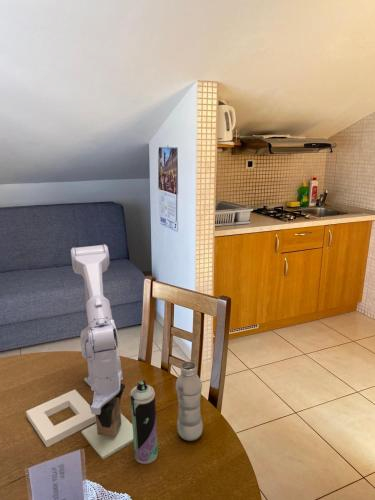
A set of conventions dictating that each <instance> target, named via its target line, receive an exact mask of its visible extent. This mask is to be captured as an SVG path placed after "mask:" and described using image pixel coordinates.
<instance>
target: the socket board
mask: <svg viewBox="0 0 375 500" xmlns="http://www.w3.org/2000/svg"><path fill="white" fill-rule="evenodd" d="M68 408H70V409H71V411H72V412H74V414H75V415H74V416H71V417H69V418H68V419H65V420H64V421H62V422H59V423H57V424H55V425H54V423H53V422H52V421H51V420H50V418H49V417H50V416H52V415H54V414H56V413H59V412H61V411H63V410H64V409H68ZM25 413H26V418H27V420H28V421H29V422H30V424H31V425H32V427H33V428H34V430H35V432H36V433H37V434H38V436H39V438H40V439H41V440H42V442H43V444H44V445H45V447H46V448H48V447H50V446H52V445H54V444H56V443H57V442H60V441H62V440H64V439H65V438H67V437H70V436H71V435H74V434H75V433H77V432H79V431H82V430H84V429H86V428H88V427H90V426H92V425H94V423H95V424H96V415H95V414H91V409H90V404H89V403H88V402H87V401H86V399H84V397H83V396H81V394H80V393H79V392H78V390H77V389H73V390H70V391H68V392H65V393H63V394H61V395H59V396H57V397H55V398H53V399H49V400H47V401H46V402H43V403H41V404H40V405H36V406H35V407H32V408H30V409H27V410H26V411H25Z"/></svg>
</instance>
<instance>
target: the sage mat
mask: <svg viewBox="0 0 375 500" xmlns="http://www.w3.org/2000/svg"><path fill="white" fill-rule="evenodd" d="M81 435H82V436H83V437H84V438H85V439H86V440H87V442H88V443H89V445H91V447H92V448H93V449H94V450H95V452H96V453H97V455H98V456H99V457H100V458H101V459H102V460H105V459H106V458H108V457H110V456H112V455H113V454H115V453H116V452H118V451H120V450H122V449H123V448H125V447H126V446H128V445H130V444H131V443H134V440H133V426H132V423H131V422H130V421H129V420H128V418H126V417H125V415H123V413H121V426H120V428H119V430H118V432H117V434H116V436H115V437H112V436H105V435H98V432H97V424H96V423H95V424H94V423H93V424H91V425H89V426H87V427H86V428H84V429H82V430H81Z"/></svg>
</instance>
